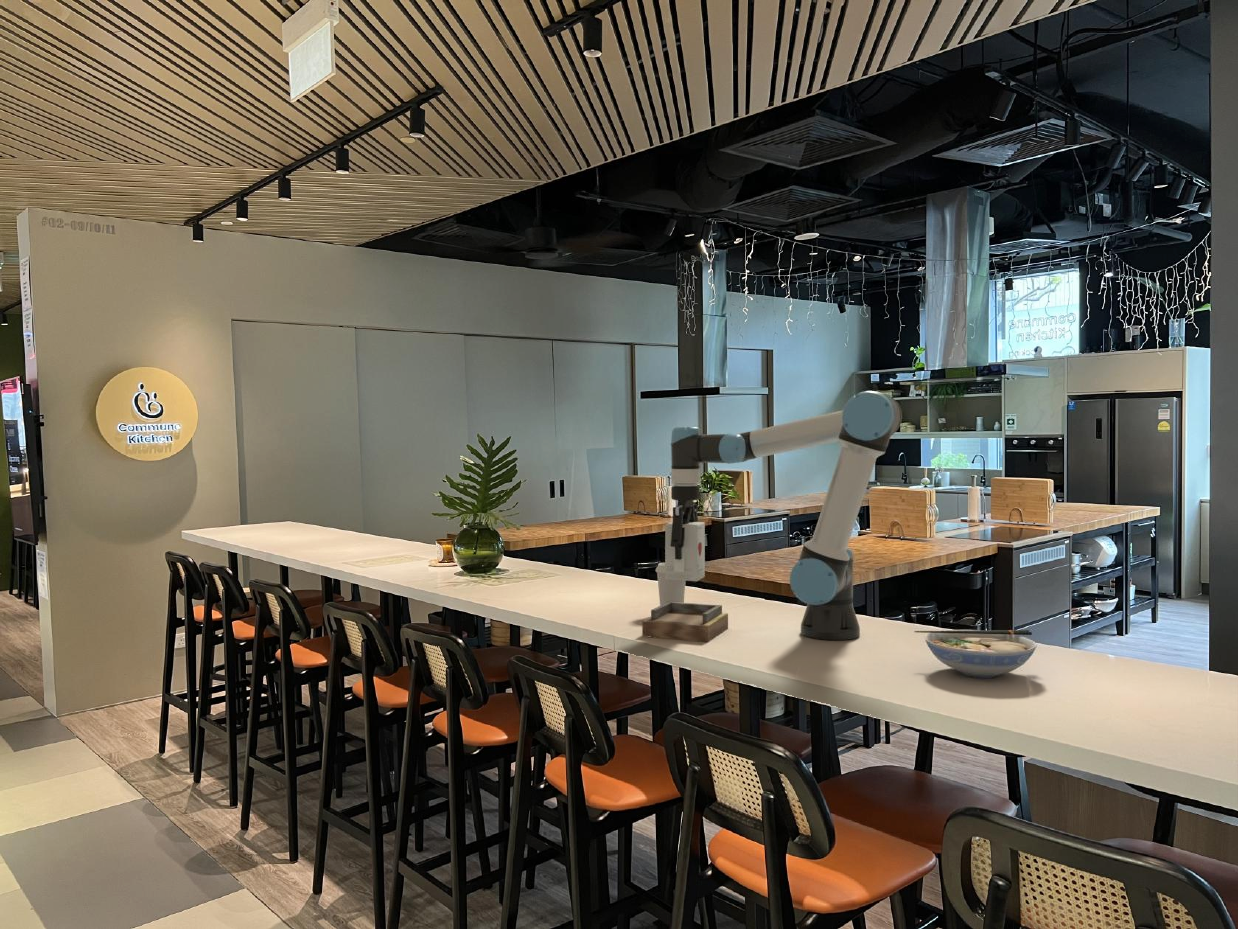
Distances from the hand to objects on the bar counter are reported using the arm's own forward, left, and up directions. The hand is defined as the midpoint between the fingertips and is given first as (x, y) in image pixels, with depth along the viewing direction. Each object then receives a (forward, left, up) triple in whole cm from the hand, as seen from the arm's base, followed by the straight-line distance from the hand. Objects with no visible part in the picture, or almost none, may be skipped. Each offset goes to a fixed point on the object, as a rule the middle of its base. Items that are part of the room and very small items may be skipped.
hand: (685, 569), depth 240 cm
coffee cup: (+12, -22, -17) cm, 31 cm away
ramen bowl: (-73, +18, -17) cm, 77 cm away
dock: (0, 0, -17) cm, 17 cm away
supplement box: (0, 0, -3) cm, 3 cm away
